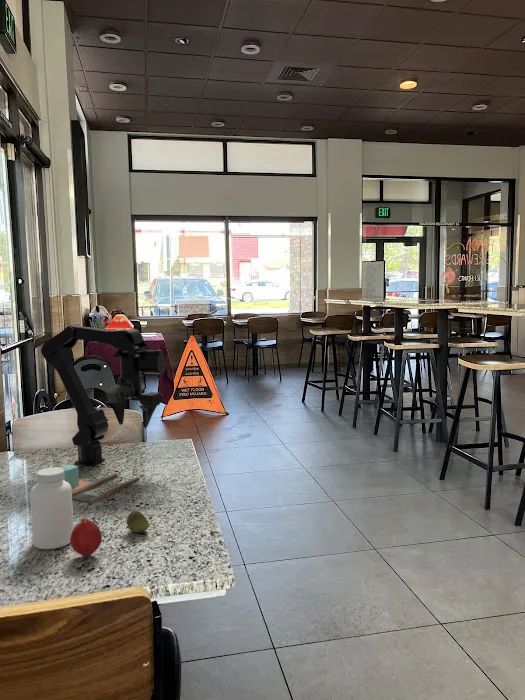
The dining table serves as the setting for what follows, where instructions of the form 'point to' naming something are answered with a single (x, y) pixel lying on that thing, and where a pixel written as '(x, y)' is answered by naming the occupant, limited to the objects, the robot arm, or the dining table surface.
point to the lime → (137, 521)
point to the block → (71, 475)
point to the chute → (87, 498)
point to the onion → (86, 537)
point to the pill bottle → (51, 509)
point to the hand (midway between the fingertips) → (133, 426)
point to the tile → (81, 485)
